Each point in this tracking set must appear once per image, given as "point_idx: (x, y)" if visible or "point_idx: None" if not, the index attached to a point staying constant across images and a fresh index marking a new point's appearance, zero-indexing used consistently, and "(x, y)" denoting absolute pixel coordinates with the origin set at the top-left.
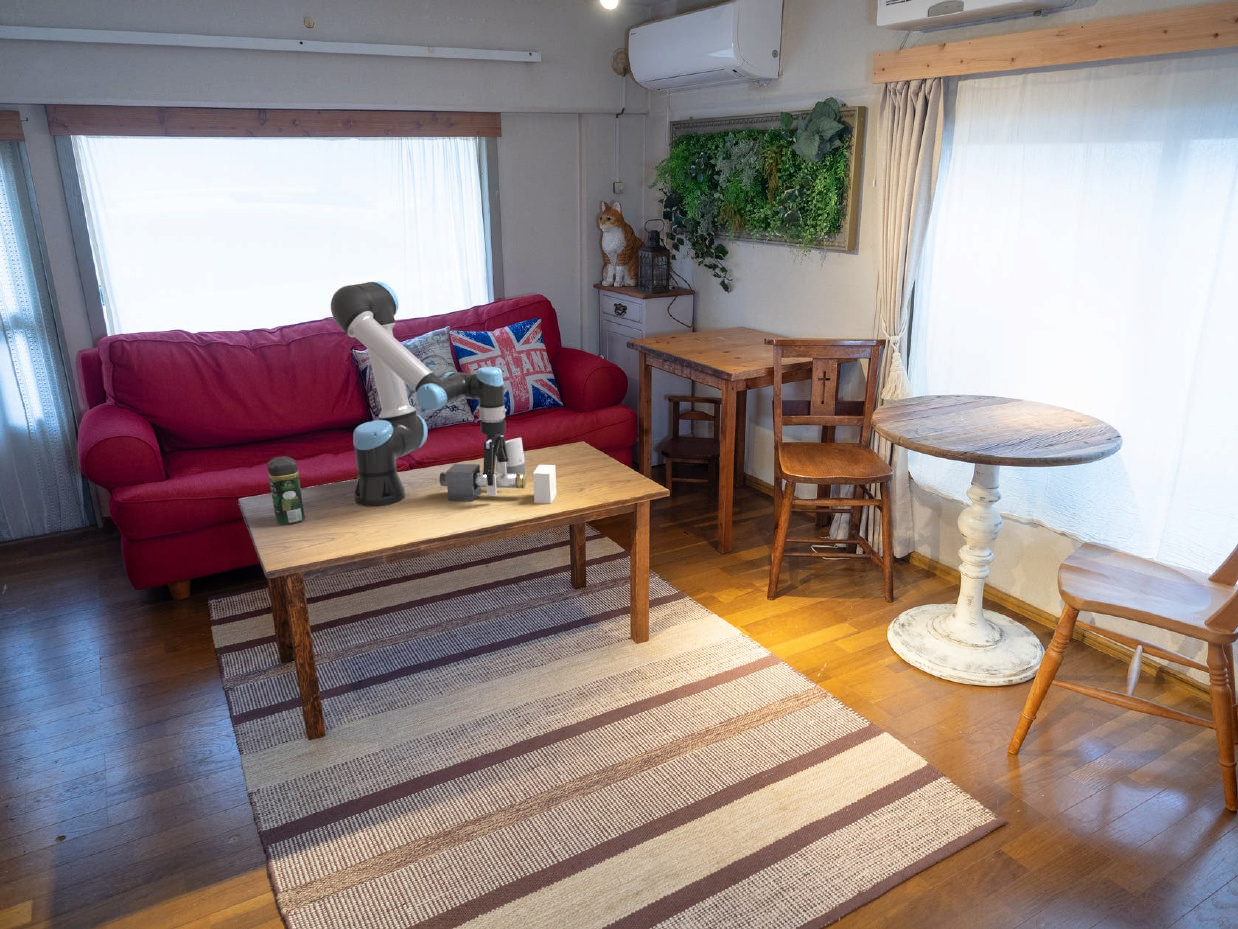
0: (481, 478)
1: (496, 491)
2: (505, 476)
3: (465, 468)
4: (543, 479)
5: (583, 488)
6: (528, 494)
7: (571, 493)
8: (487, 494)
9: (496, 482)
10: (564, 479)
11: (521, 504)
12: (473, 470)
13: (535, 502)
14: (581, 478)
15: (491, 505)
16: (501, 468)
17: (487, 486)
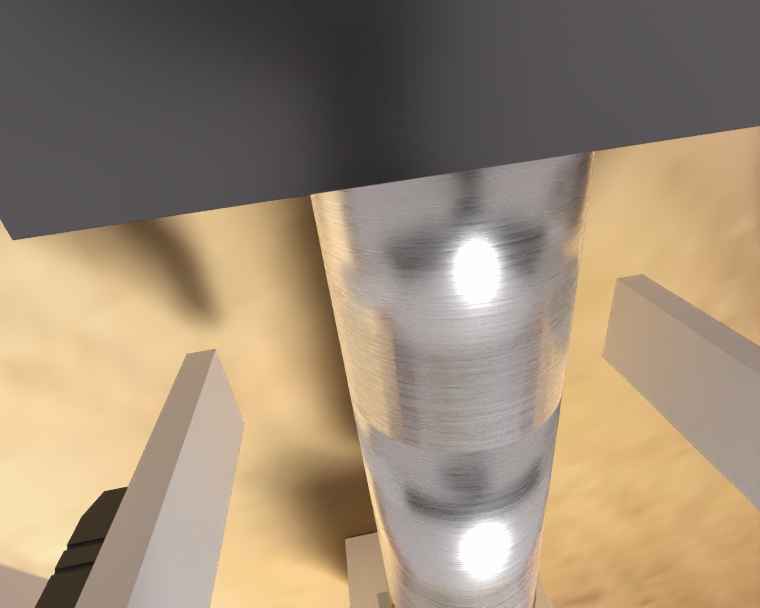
0: (347, 296)
1: (234, 452)
2: (423, 586)
3: None
4: None
5: (593, 600)
6: None
7: None
8: (183, 361)
9: (363, 454)
10: (748, 501)
11: (301, 495)
12: (303, 192)
13: (347, 546)
14: (742, 548)
15: (197, 338)
16: (755, 443)
17: (153, 444)
